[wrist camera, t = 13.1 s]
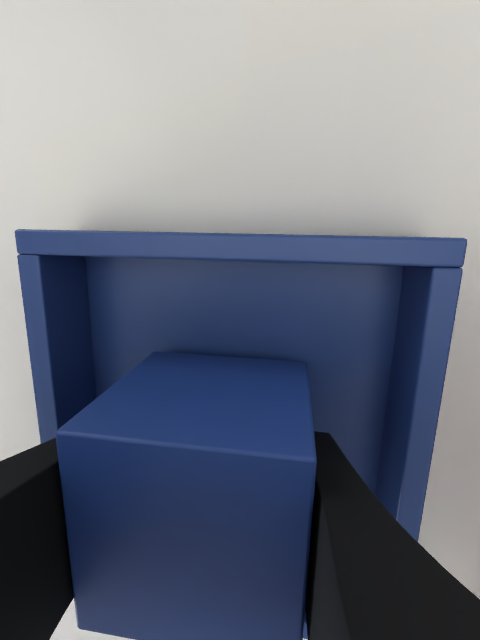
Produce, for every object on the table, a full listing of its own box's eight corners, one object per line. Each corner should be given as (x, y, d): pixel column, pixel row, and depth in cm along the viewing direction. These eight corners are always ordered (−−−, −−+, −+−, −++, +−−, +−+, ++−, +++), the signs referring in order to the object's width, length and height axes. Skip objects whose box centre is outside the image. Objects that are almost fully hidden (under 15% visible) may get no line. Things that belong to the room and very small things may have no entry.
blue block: (298, 499, 11) (300, 673, 6) (158, 481, 11) (76, 630, 7) (307, 361, 10) (316, 460, 5) (153, 350, 10) (53, 431, 6)
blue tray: (378, 573, 12) (399, 656, 10) (101, 532, 14) (59, 595, 11) (425, 237, 9) (469, 238, 7) (74, 230, 11) (12, 229, 9)
